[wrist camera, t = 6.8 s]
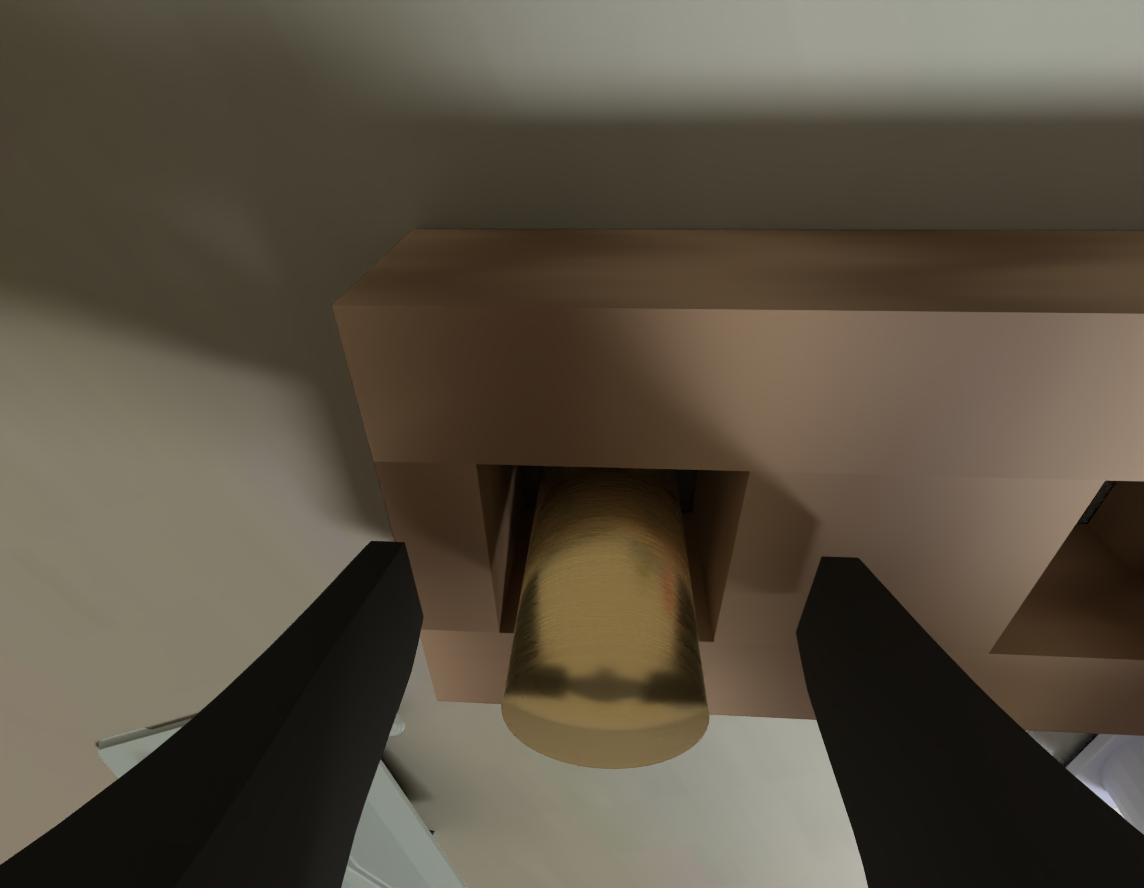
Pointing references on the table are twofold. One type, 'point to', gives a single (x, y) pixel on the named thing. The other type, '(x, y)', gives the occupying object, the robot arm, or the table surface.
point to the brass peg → (606, 623)
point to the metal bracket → (383, 837)
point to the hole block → (781, 438)
